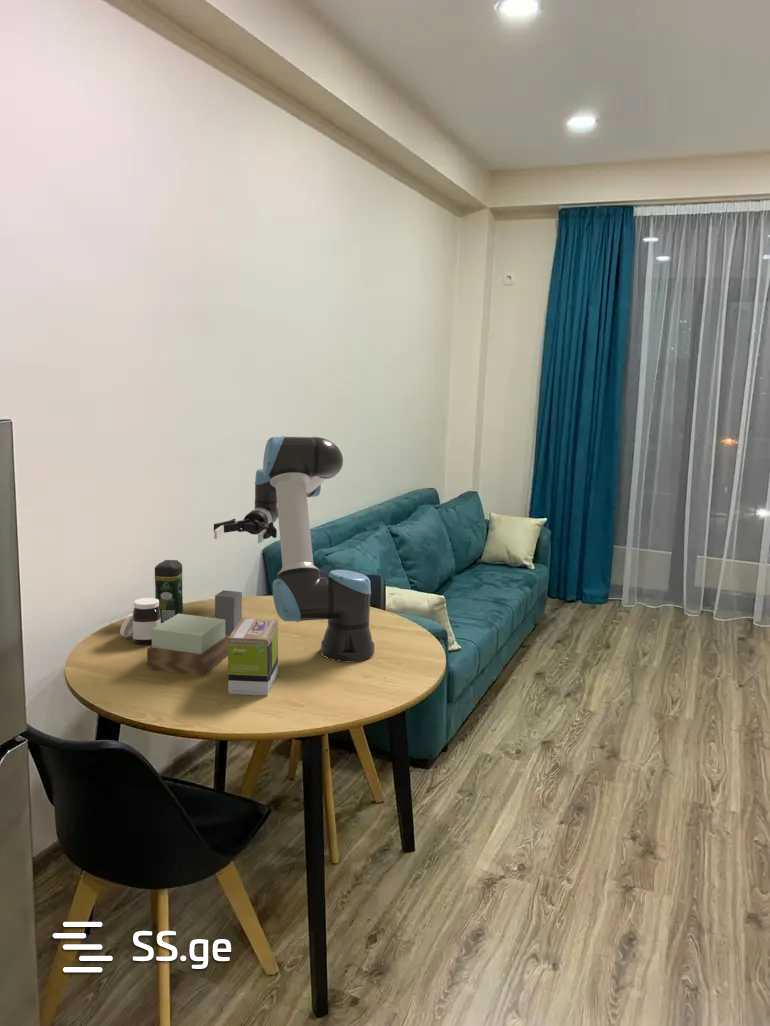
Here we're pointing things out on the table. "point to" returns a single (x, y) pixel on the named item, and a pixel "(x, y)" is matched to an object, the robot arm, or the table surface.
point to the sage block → (188, 633)
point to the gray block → (229, 609)
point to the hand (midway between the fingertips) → (237, 536)
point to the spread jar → (142, 620)
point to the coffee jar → (169, 588)
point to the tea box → (253, 657)
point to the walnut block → (187, 659)
